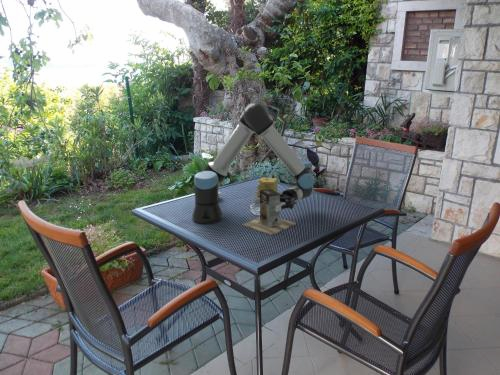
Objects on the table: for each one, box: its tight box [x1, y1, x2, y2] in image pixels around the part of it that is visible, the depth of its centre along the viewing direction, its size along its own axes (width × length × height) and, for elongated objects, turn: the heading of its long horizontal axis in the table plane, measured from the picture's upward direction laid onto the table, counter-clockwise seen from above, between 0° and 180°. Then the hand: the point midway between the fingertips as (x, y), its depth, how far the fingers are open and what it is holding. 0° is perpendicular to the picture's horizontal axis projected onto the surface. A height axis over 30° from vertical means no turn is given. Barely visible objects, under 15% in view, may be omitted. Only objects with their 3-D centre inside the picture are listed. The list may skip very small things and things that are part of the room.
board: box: [242, 216, 296, 236], centre depth 196 cm, size 18×18×1 cm
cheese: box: [256, 176, 278, 198], centre depth 240 cm, size 10×11×10 cm
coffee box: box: [259, 189, 281, 227], centre depth 193 cm, size 9×6×16 cm
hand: (264, 205), depth 190 cm, fingers open, 13 cm apart
